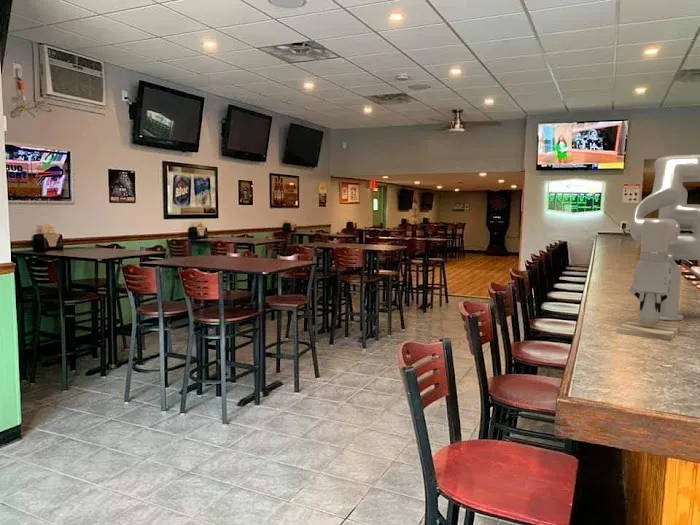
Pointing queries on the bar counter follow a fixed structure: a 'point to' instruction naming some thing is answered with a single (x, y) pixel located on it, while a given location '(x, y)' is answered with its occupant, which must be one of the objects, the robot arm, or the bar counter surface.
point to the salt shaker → (649, 309)
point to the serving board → (648, 330)
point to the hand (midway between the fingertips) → (649, 313)
